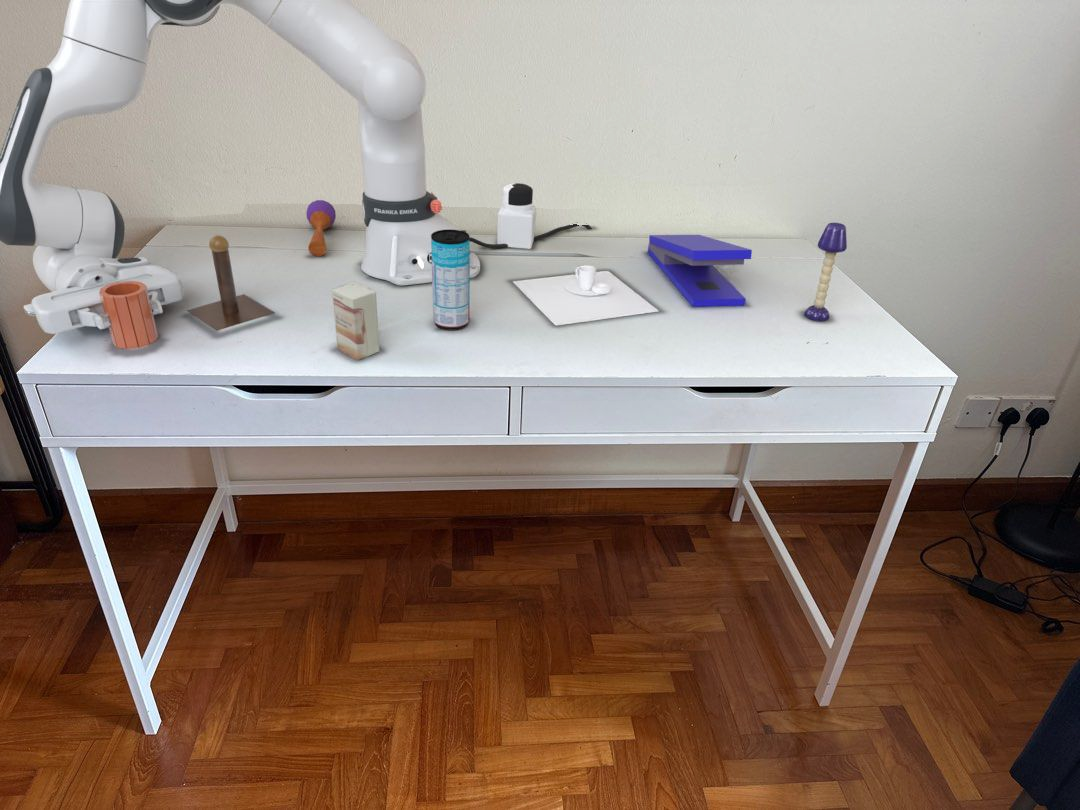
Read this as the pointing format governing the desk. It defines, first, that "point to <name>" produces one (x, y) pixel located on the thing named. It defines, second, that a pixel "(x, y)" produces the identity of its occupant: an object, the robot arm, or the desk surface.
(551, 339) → the desk surface
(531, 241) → the medicine bottle
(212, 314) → the holder
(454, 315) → the beverage can
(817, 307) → the toy lamp
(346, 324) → the white product box
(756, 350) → the desk surface
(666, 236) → the stapler
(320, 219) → the kendama
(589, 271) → the teacup and saucer
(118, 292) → the orange slatted tube
